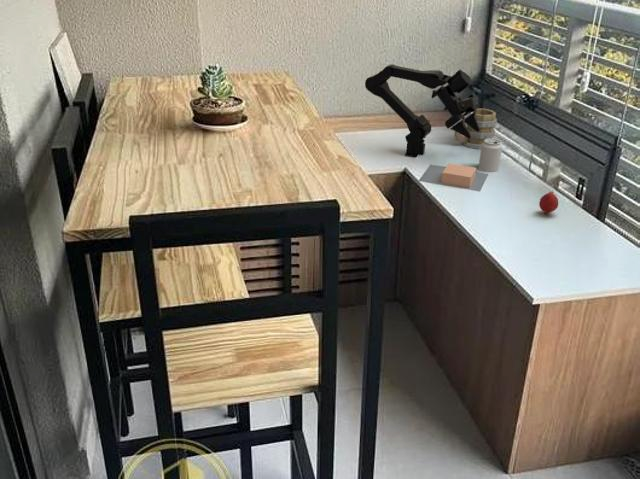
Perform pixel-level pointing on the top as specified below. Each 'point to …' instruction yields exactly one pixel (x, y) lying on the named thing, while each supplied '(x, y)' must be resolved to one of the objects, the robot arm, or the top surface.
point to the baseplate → (435, 177)
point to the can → (490, 155)
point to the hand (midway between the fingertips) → (474, 134)
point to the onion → (548, 202)
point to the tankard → (486, 126)
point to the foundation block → (458, 175)
